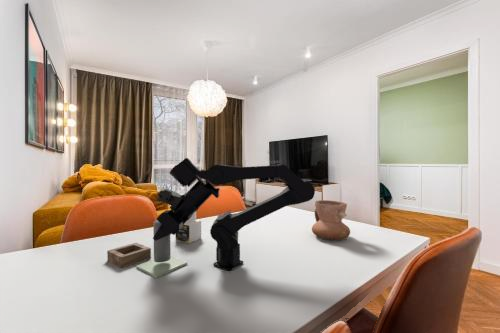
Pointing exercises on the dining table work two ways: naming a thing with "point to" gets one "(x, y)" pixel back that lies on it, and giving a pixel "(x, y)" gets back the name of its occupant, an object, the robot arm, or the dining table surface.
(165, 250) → the plug
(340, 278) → the dining table surface
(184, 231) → the medicine bottle
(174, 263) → the green mat
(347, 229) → the ceramic jug
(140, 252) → the walnut collar
